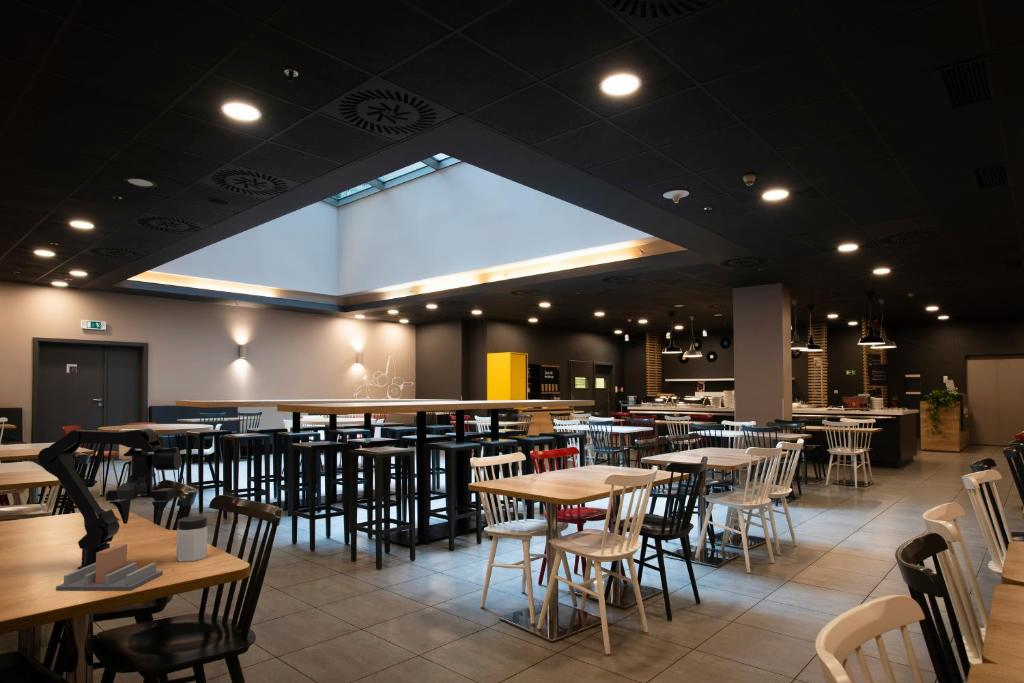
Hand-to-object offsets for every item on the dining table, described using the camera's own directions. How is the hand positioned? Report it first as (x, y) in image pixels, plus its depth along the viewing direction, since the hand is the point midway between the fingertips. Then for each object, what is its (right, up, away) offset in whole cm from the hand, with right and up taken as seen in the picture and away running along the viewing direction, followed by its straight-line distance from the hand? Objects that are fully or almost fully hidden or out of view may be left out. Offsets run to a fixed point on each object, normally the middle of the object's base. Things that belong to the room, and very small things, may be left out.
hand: (140, 523), depth 189 cm
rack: (+2, -11, -18) cm, 21 cm away
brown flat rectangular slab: (+2, -10, -18) cm, 20 cm away
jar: (+12, -13, +6) cm, 19 cm away
